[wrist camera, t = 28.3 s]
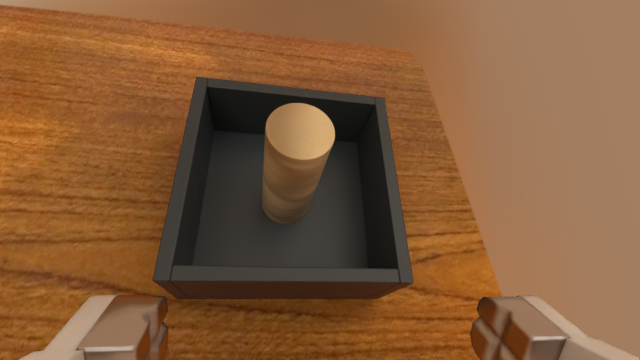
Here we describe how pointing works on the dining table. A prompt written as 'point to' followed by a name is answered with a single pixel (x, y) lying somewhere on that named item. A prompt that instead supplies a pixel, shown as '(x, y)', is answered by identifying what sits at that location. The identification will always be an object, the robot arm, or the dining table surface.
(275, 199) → the dowel
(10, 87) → the dining table surface
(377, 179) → the bin
